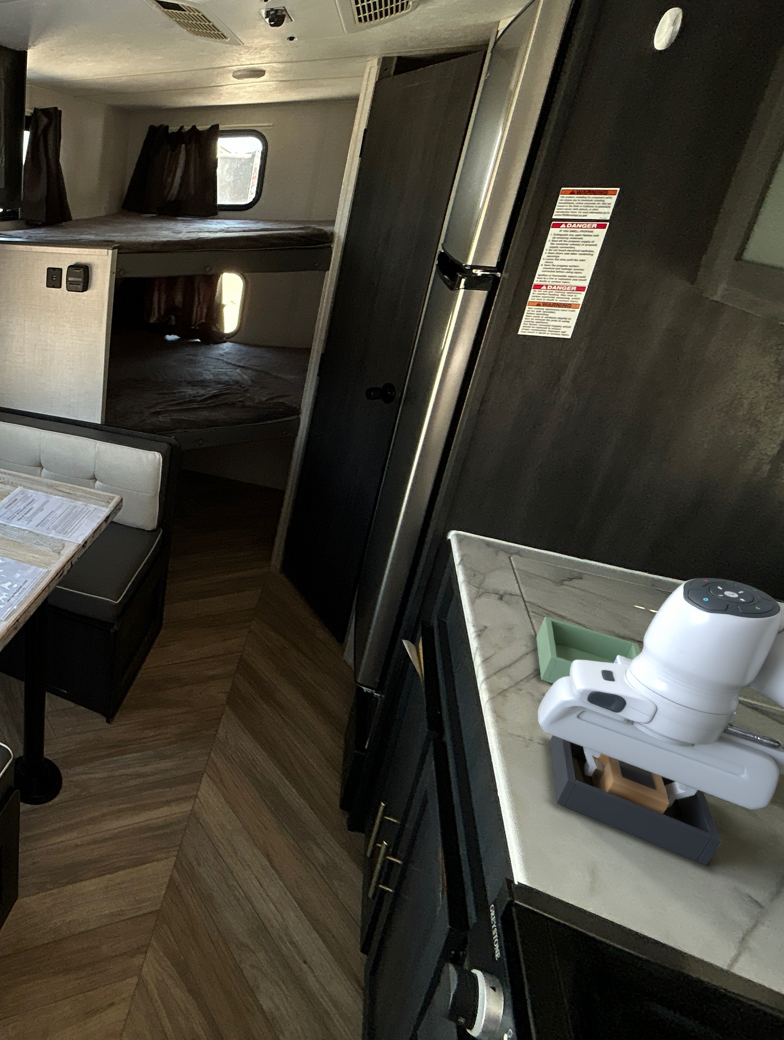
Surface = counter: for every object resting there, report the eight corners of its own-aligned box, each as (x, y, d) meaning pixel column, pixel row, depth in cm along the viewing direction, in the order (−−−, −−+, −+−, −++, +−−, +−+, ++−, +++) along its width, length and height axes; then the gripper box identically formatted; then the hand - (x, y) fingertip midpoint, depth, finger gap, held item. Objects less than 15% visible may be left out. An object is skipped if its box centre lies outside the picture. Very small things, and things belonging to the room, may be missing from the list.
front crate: (682, 792, 81) (696, 770, 80) (706, 865, 73) (722, 842, 71) (549, 741, 89) (559, 720, 87) (556, 803, 80) (567, 780, 78)
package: (640, 785, 82) (656, 757, 80) (652, 832, 76) (670, 803, 74) (589, 765, 85) (603, 738, 83) (597, 809, 79) (613, 780, 77)
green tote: (627, 665, 103) (638, 643, 101) (641, 713, 93) (654, 690, 92) (536, 637, 109) (545, 616, 107) (541, 679, 100) (550, 657, 98)
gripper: (792, 729, 71) (736, 814, 77) (557, 654, 83) (522, 732, 88) (814, 767, 67) (752, 855, 72) (562, 682, 78) (525, 763, 83)
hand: (624, 787), depth 80 cm, fingers closed on package, 5 cm apart
